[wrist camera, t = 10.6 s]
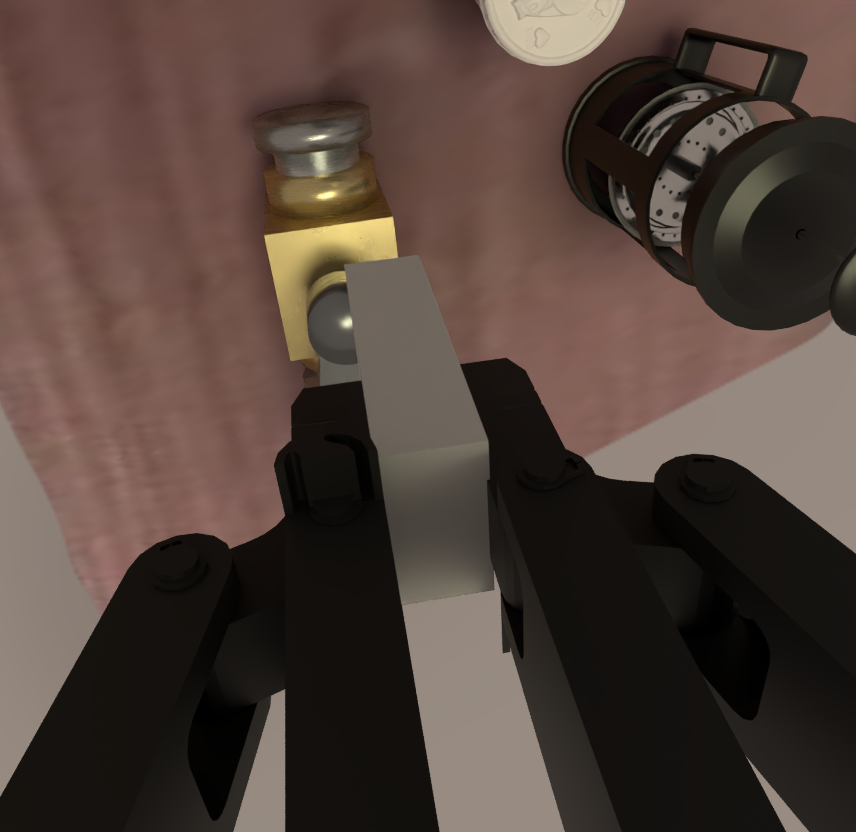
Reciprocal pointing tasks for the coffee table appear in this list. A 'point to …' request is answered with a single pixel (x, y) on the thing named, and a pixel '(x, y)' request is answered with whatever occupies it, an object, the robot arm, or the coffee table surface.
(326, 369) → the lever
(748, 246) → the french press
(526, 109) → the coffee table surface
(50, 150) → the coffee table surface
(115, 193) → the coffee table surface
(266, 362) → the coffee table surface
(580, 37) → the smoothie
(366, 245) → the pipe valve
